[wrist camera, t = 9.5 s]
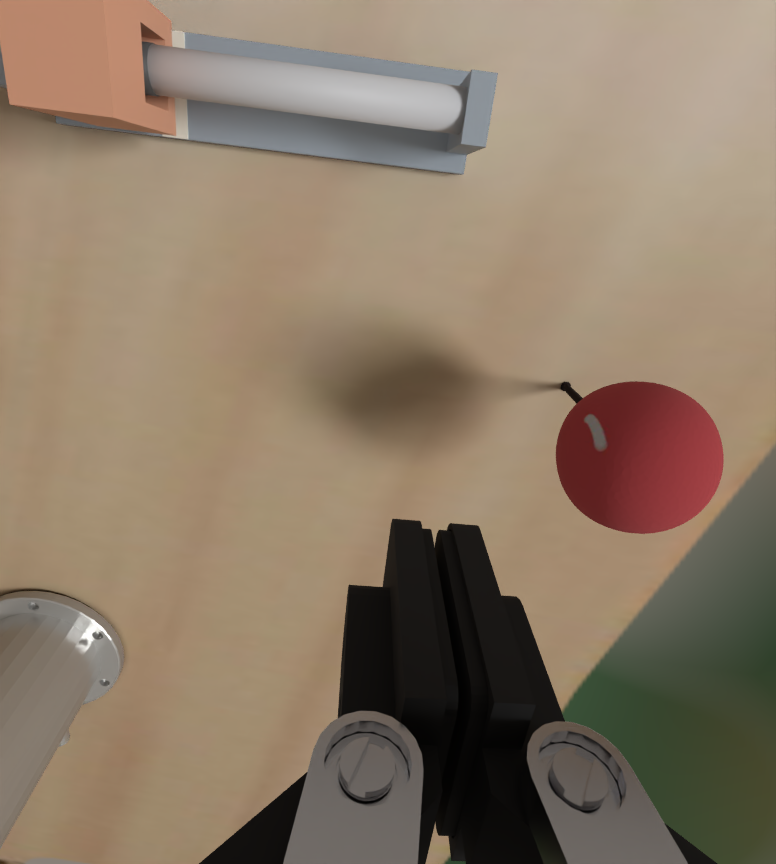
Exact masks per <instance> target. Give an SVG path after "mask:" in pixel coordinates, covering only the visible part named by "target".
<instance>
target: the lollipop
mask: <svg viewBox="0 0 776 864" xmlns="http://www.w3.org/2000/svg"><path fill="white" fill-rule="evenodd" d="M561 389H562V390H563V391H566V393H567V394H568V395H569V396H570V397H571V398H572V399H573V400H574V401H575V402H576V403H577V404H576V405H575V406H574V407H573V409H572V410H571V411H570V412H569V414H568V415H567V417H566V419H565V421H564V422H563V425H562V427H561V429H560V432H559V436H558V440H557V446H556V464H557V470H558V474H559V478H560V481H561V484H562V486H563V488H564V490H565V492H566V494H567V496H568V497H569V499H570V500H571V502H572V503H573V504H574V505H575V506H576V507H577V508H578V509H579V510H580V511H581V512H582V513H583V514H585V515H586V516H587V517H589V518H590V519H592V520H593V521H595V522H597V523H599V524H601V525H603V526H606V527H608V528H611V529H614V530H618V531H622V532H628V533H640V534H645V533H656V532H661V531H666V530H669V529H672V528H675V527H677V526H679V525H682V524H684V523H685V522H687V521H689V520H690V519H692V518H693V517H694V516H696V515H697V514H698V513H699V512H701V511H702V509H703V508H704V507H705V506H706V505H707V504H708V503H709V501H710V500H711V498H712V497H713V495H714V494H715V492H716V490H717V488H718V485H719V483H720V480H721V476H722V471H723V448H722V442H721V438H720V435H719V432H718V430H717V428H716V425H715V424H714V422H713V420H712V419H711V417H710V416H709V414H708V413H707V412H706V410H705V409H704V408H703V407H702V406H701V405H700V404H699V403H697V402H696V401H695V400H694V399H692V398H691V397H689V396H688V395H686V394H684V393H682V392H680V391H678V390H676V389H673V388H671V387H668V386H665V385H660V384H656V383H649V382H623V383H617V384H613V385H609V386H606V387H603V388H601V389H598V390H596V391H594V392H592V393H590V394H589V395H587V396H586V397H584V398H582V397H581V396H580V395H579V394H578V393H577V392H576V391H575V390H573V389H572V388H571V385H570V383H569V382H564V383H562V385H561Z"/></svg>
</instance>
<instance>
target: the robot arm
mask: <svg viewBox="0 0 776 864" xmlns="http://www.w3.org/2000/svg"><path fill="white" fill-rule="evenodd" d="M123 663H124V651H123V646H122V644H121V641H120V638H119V636H118V635H117V633H116V632H115V630H114V629H113V627H112V626H111V625H110V624H109V623H108V622H107V621H106V620H105V619H104V618H103V617H102V616H101V615H100V614H98V613H97V612H96V611H94V610H93V609H92V608H90V607H88V606H86V605H84V604H83V603H81V602H79V601H76V600H74V599H71V598H69V597H66V596H63V595H59V594H54V593H50V592H41V591H19V592H14V593H9V594H5V595H3V596H0V848H1V846H2V845H3V843H4V841H5V839H6V838H7V836H8V834H9V832H10V831H11V829H12V827H13V825H14V824H15V822H16V820H17V818H18V816H19V815H20V813H21V811H22V809H23V808H24V806H25V804H26V802H27V801H28V799H29V797H30V795H31V794H32V792H33V790H34V788H35V787H36V785H37V783H38V781H39V780H40V778H41V776H42V774H43V773H44V771H45V769H46V767H47V766H48V764H49V762H50V760H51V758H52V757H53V755H54V753H55V751H56V750H57V748H58V747H59V746H62V745H64V744H66V743H67V742H68V741H69V738H70V734H69V727H70V725H71V723H72V722H73V720H74V718H75V716H76V715H77V713H78V711H79V709H80V707H81V706H82V705H83V704H86V703H89V702H91V701H94V700H96V699H98V698H100V697H101V696H103V695H105V694H106V693H107V692H108V691H109V690H110V689H111V688H112V687H113V685H114V684H115V682H116V680H117V679H118V677H119V675H120V672H121V670H122V668H123ZM435 821H436V829H437V833H438V835H439V836H449V844H450V853H451V860H452V861H466V864H717V863H716V862H714V861H713V860H712V859H710V858H709V857H708V856H706V855H705V854H704V853H703V852H701V851H700V850H699V849H697V848H696V847H695V846H693V845H692V844H691V843H690V842H688V841H687V840H685V839H684V838H683V837H682V836H680V835H679V834H678V833H676V832H675V831H674V830H673V829H671V828H670V827H669V826H667V825H666V824H665V823H664V822H663V820H662V819H661V817H660V815H659V814H658V812H657V810H656V809H655V807H654V805H653V804H652V802H651V800H650V799H649V797H648V795H647V793H646V792H645V790H644V788H643V787H642V785H641V783H640V782H639V780H638V778H637V777H636V775H635V773H634V772H633V770H632V768H631V767H630V765H629V764H628V762H627V761H626V759H625V758H624V757H623V755H622V754H621V753H620V751H619V750H618V749H617V748H616V747H615V746H614V745H612V744H611V743H610V742H609V741H608V740H607V739H606V738H604V737H603V736H602V735H600V734H598V733H597V732H595V731H593V730H591V729H589V728H588V727H585V726H582V725H579V724H576V723H573V722H565V720H564V718H563V715H562V712H561V709H560V707H559V704H558V701H557V698H556V696H555V693H554V690H553V687H552V685H551V682H550V679H549V676H548V674H547V671H546V668H545V666H544V663H543V660H542V657H541V655H540V652H539V649H538V646H537V644H536V641H535V638H534V635H533V633H532V630H531V627H530V624H529V622H528V619H527V616H526V613H525V611H524V608H523V605H522V603H521V601H520V599H518V598H517V597H514V596H501V594H500V591H499V587H498V584H497V581H496V578H495V575H494V572H493V569H492V565H491V562H490V559H489V556H488V553H487V550H486V547H485V544H484V540H483V537H482V534H481V531H480V528H479V526H477V525H464V524H452V523H450V524H449V526H448V528H447V531H446V530H439V531H438V533H437V537H436V542H435V548H434V542H433V537H432V531H431V529H422V525H421V522H420V521H414V520H401V519H392V523H391V529H390V536H389V544H388V551H387V559H386V566H385V574H384V581H383V587H371V586H357V585H349V587H348V595H347V605H346V615H345V625H344V637H343V649H342V662H341V677H340V692H339V707H338V719H336V720H334V721H333V722H331V723H330V724H329V725H328V726H327V728H326V729H325V730H324V731H323V732H322V733H321V734H320V736H319V738H318V741H317V743H316V745H315V747H314V750H313V753H312V757H311V761H310V765H309V768H308V772H307V773H305V774H304V775H303V776H302V777H301V778H300V779H298V780H297V781H296V782H295V783H294V784H293V785H291V786H290V787H289V788H288V789H287V790H285V791H284V792H283V793H282V794H281V795H280V796H278V797H277V798H276V799H275V800H274V801H272V802H271V803H270V804H269V805H268V806H267V807H265V808H264V809H263V810H262V811H261V812H259V813H258V814H257V815H256V816H255V817H254V818H252V819H251V820H250V821H249V822H248V823H247V824H245V825H244V826H243V827H242V828H241V829H239V830H238V831H237V832H236V833H235V834H234V835H232V836H231V837H230V838H229V839H228V840H226V841H225V842H224V843H223V844H222V845H221V846H219V847H218V848H217V849H216V850H215V851H213V852H212V853H211V854H210V855H209V856H208V857H206V858H205V859H204V860H203V861H202V862H201V863H199V864H425V863H426V858H427V854H428V850H429V846H430V842H431V837H432V833H433V829H434V825H435Z"/></svg>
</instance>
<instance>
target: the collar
mask: <svg viewBox="0 0 776 864" xmlns="http://www.w3.org/2000/svg"><path fill="white" fill-rule="evenodd" d="M142 41H144V42H151V43H154V44H156V45H163V46H171V47H172V27H171V20H170V19H168V18H167V17H166V16H165V15H164V14H163V13H161V12H160V11H159V10H158V9H157V8H156V7H154V6H153V5H152V4H151V3H150V2H149V1H147V0H0V45H1V52H2V58H3V65H4V71H5V78H6V85H7V91H8V98H9V104H10V105H14V106H18V107H22V108H26V109H30V110H34V111H38V112H43V113H47V114H51V115H55V116H59V117H63V118H67V119H71V120H75V121H79V122H83V123H87V124H91V125H96V126H101V127H109V128H116V129H124V130H132V131H140V132H148V133H156V134H164V135H172V136H176V117H175V98H174V97H167V96H159V97H157V96H150V95H145V86H144V70H143V55H142Z"/></svg>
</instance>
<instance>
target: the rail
mask: <svg viewBox="0 0 776 864" xmlns="http://www.w3.org/2000/svg"><path fill="white" fill-rule="evenodd" d="M142 55H143V70H144V86H145V95H150V96H157V97H159V96H167V97H174V98H175V117H176V136H172V135H164V134H156V133H148V132H140V131H132V130H124V129H116V128H109V127H101V126H96V125H91V124H87V123H83V122H79V121H75V120H71V119H67V118H63V117H59V116H55V117H56V123H59V124H63V125H69V126H77V127H85V128H93V129H101V130H109V131H117V132H125V133H133V134H141V135H149V136H157V137H165V138H173V139H181V140H189V141H197V142H205V143H213V144H221V145H229V146H237V147H245V148H253V149H261V150H269V151H277V152H285V153H293V154H301V155H309V156H317V157H325V158H333V159H341V160H349V161H357V162H365V163H373V164H381V165H389V166H396V167H404V168H412V169H420V170H428V171H436V172H444V173H452V174H460V175H462V174H464V169H465V162H466V156H467V155H468V154H470V153H472V152H475V151H477V150H480V149H482V148H485V147H486V142H487V136H488V130H489V124H490V118H491V112H492V106H493V100H494V94H495V88H496V81H497V75H498V73H493V72H486V71H479V70H471V72H467V71H460V70H453V69H446V68H439V67H431V66H424V65H417V64H410V63H403V62H395V61H388V60H381V59H374V58H367V57H359V56H352V55H345V54H338V53H331V52H324V51H316V50H309V49H302V48H295V47H288V46H280V45H273V44H266V43H259V42H252V41H244V40H237V39H230V38H223V37H216V36H208V35H201V34H194V33H187V32H182V31H175V30H172V47H171V46H163V45H156V44H154V43H151V42H144V41H142ZM0 87H3V88H6V89H7V85H6V78H5V71H4V65H3V58H2V52H1V45H0Z"/></svg>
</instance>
